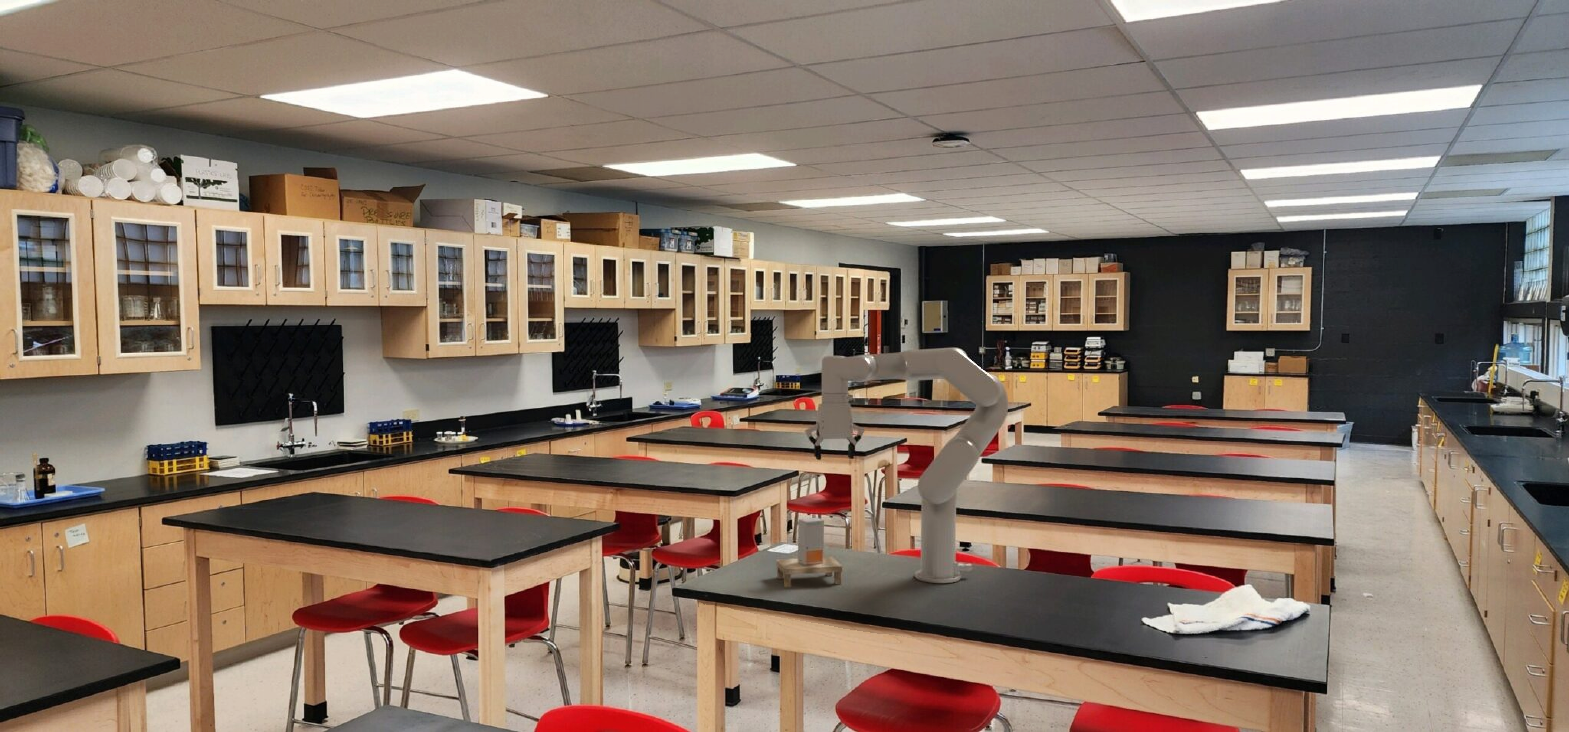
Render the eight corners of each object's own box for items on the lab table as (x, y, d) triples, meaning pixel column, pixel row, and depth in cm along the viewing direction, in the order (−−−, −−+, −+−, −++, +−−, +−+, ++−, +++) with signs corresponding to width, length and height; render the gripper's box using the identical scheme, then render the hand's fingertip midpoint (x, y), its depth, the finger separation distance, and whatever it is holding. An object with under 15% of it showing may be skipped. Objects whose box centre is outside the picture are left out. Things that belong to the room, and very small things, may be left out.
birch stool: (831, 574, 267) (831, 556, 267) (842, 584, 256) (842, 566, 256) (776, 577, 264) (776, 559, 263) (784, 587, 253) (784, 569, 253)
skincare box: (804, 565, 257) (804, 521, 256) (797, 562, 260) (797, 518, 260) (824, 563, 259) (824, 519, 259) (816, 559, 263) (817, 517, 263)
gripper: (859, 397, 275) (859, 456, 276) (802, 398, 271) (802, 458, 272) (867, 399, 268) (867, 459, 268) (808, 400, 264) (808, 461, 264)
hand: (834, 458), depth 270 cm, fingers open, 9 cm apart
